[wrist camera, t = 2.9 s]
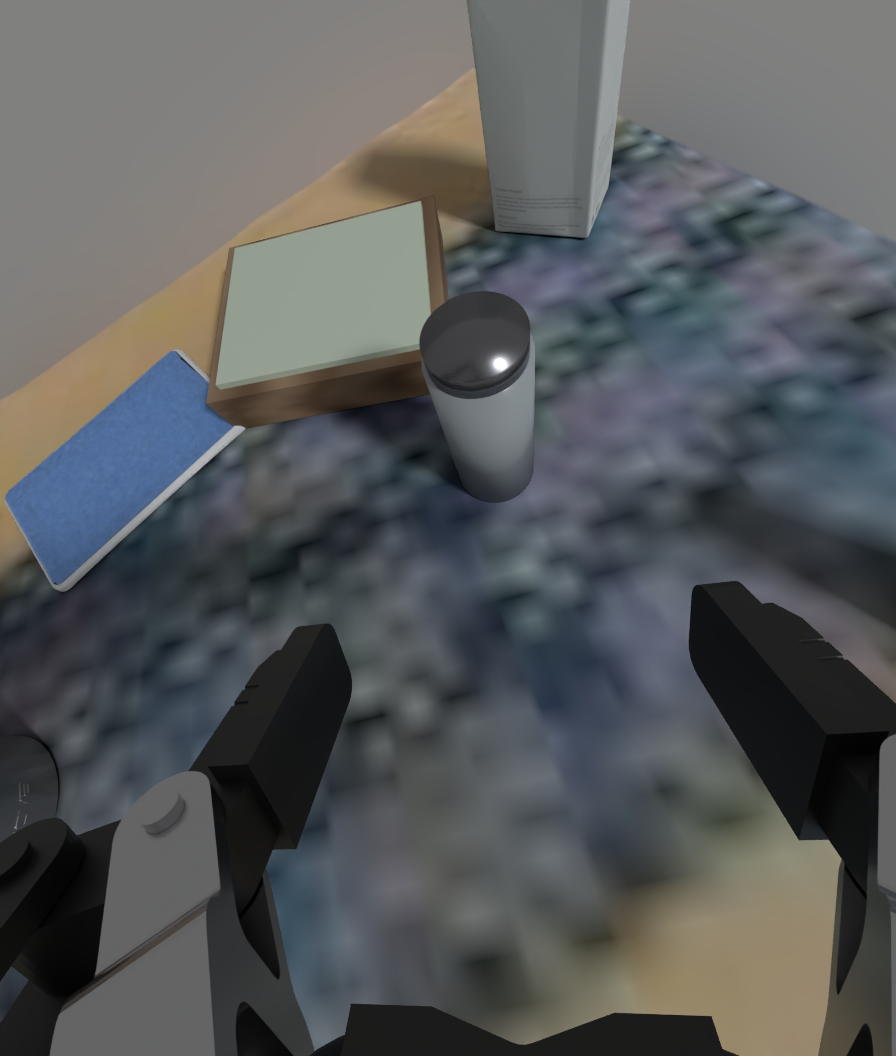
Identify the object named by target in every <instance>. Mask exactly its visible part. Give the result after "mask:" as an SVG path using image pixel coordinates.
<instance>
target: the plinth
mask: <svg viewBox="0 0 896 1056" xmlns="http://www.w3.org/2000/svg"><path fill="white" fill-rule="evenodd" d="M448 300H449V298H448V288H447V278H446V268H445V259H444V249H443V239H442V234H441V229H440V224H439V219H438V214H437V209H436V204H435V199H434V196H432V197H428V198H424V199H420V200H416V201H412V202H408V203H404V204H400V205H396V206H393V207H389V208H385V209H381V210H377V211H373V212H369V213H365V214H361V215H357V216H353V217H350V218H346V219H342V220H338V221H334V222H330V223H326V224H322V225H318V226H314V227H310V228H307V229H303V230H299V231H295V232H291V233H287V234H283V235H279V236H275V237H271V238H267V239H264V240H260V241H256V242H252V243H248V244H244V245H240V246H236V247H232V248H229V253H228V260H227V266H226V273H225V280H224V287H223V293H222V300H221V307H220V314H219V320H218V327H217V334H216V341H215V347H214V354H213V361H212V368H211V374H210V381H209V388H208V395H207V401H206V404H207V405H209V406H210V407H211V408H212V409H213V410H214V411H216V412H217V413H218V414H219V415H220V416H222V417H223V418H224V419H225V420H226V421H228V422H229V423H230V424H231V425H232V426H242V427H244V428H250V427H255V426H260V425H266V424H271V423H277V422H282V421H287V420H293V419H298V418H304V417H309V416H314V415H320V414H325V413H330V412H336V411H341V410H347V409H352V408H357V407H363V406H368V405H374V404H379V403H384V402H390V401H395V400H401V399H406V398H411V397H417V396H422V395H427V394H430V392H429V389H428V386H427V384H426V381H425V378H424V375H423V372H422V355H421V352H420V346H419V339H420V333H421V330H422V328H423V326H424V323H425V322H426V320H427V319H428V317H429V316H430V315H431V314H432V313H433V312H434V311H435V310H436V309H437V308H438V307H439V306H441V305H442V304H443V303H445V302H447V301H448Z"/></svg>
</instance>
